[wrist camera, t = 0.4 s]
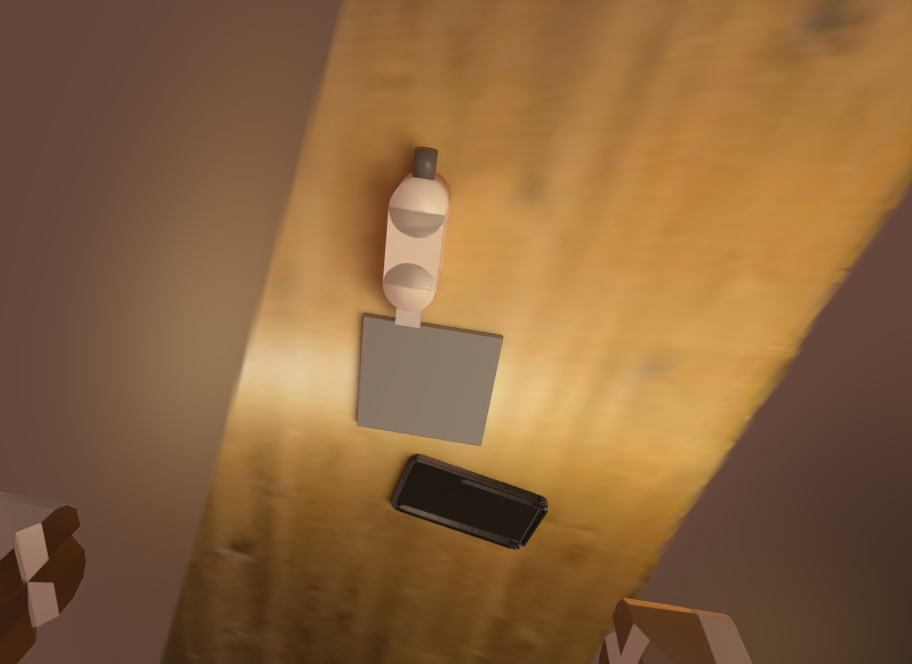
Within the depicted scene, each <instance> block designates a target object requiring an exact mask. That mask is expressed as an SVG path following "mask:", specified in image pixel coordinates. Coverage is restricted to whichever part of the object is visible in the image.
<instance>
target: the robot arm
mask: <svg viewBox="0 0 912 664" xmlns="http://www.w3.org/2000/svg"><path fill="white" fill-rule="evenodd" d="M80 526H81V525H80V520H79V516H78V511H77V508H74V507H71V506H69V505H65V504H60V503H55V502H50V501H44V500H40V499H35V498H29V497H25V496H20V495H15V494H9V493H1V492H0V664H18V663H19V662H20V661H21V659H22V658H23V657H24V656H25V655H26V654H27V652H28V651H29V650H30V649H31V648H32V646H34V644H35V642H36V632H37V627H38V626H40V625H42V624H44V623H46V622H48V621H50V620H51V619H53V618H55V617H57V616H59V615H60V614H61V613H62V611H63V610H64V609H65V608H66V606H67V605H68V604H69V603H70V602H71V600H72V599H73V598H74V596H75V594H76V592H77V590H78V588H79V586H80V584H81V582H82V580H83V578H84V572H85V566H86V557H85V549H84V548H83V547H82V546H81V544H79V542H78V541H77V540H76V539H75V538H74V537H73V534H74V533H75V532H76V531H77V530H78V528H79V527H80ZM613 621H614V626H615V631H614V632H613V633H611V634H610V635H608V636H607V637H605V639H604V642H603V645H602V649H601V652H600V658H599V664H752V663H751V660H750V658H749V656H748V654H747V651H746V649H745V647H744V645H743V643H742V640H741V638H740V636H739V634H738V631H737V629H736V627H735V624H734V622H733V621H732V620H731V619H730V618H729V617H728V616H727V615H726V614H720V613H714V612H707V611H701V610H695V609H690V610H689V609H688V608H683V607H676V606H670V605H664V604H657V603H651V602H645V601H639V600H632V599H626V598H622V599H621V600H620V601H619V602H618V603H617V605H616V608H615V611H614V613H613Z"/></svg>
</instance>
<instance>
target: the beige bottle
mask: <svg viewBox="0 0 912 664" xmlns="http://www.w3.org/2000/svg"><path fill="white" fill-rule="evenodd" d="M437 155H438V151H437V150H436V149H433V148H428V147H416V148H415V155H414V166H413V171H412V172H410V173H409V174H407V175H406V176H405V177H404V179H403V180H402V182H401V183H400V184H399V186H398V187H397V189H396V190H395V192H394V193H393V195H392V197H391V199H390V202H389V210H388V223H387V236H386V249H385V262H384V275H383V291H384V294H385V296H386V298H387V299H388V301H389V302H390V303H391V304H392V305H394V306H395V307H397V309H396V320H395V324H396V325H402V326H408V327H415V328H420V324H421V319H422V311H423V308H425V307H427V306H428V305H429V304H430V303H431V301H432V300H433V298H434V295H435V292H436V288H437V285H438V281H439V278H440V274H441V268H442V261H443V253H444V246H445V238H446V231H447V223H448V216H449V208H450V200H451V192H450V188H449V185H448V183H447V181H446V180H445V179H444V178H443V177H442V176H441V175H440V174H439V173H437V172H436V164H437Z"/></svg>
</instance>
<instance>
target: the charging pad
mask: <svg viewBox="0 0 912 664" xmlns="http://www.w3.org/2000/svg"><path fill="white" fill-rule="evenodd" d="M395 320H396V318H391V317H385V316H379V315H373V314H367V313H365V315H364V318H363V335H362V352H361V368H360V385H359V402H358V419H357V426H361V427H367V428H373V429H379V430H386V431H392V432H398V433H404V434H410V435H416V436H422V437H428V438H434V439H440V440H446V441H452V442H458V443H464V444H470V445H476V446H481V444H482V439H483V434H484V429H485V424H486V419H487V414H488V410H489V405H490V400H491V395H492V390H493V385H494V380H495V376H496V371H497V366H498V361H499V356H500V351H501V346H502V342H503V336H502V335H496V334H490V333H483V332H477V331H471V330H465V329H459V328H453V327H447V326H440V325H434V324H428V323H422V322H421V324H420V328H415V327H408V326H402V325H396V324H395Z"/></svg>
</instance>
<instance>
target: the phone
mask: <svg viewBox="0 0 912 664" xmlns="http://www.w3.org/2000/svg"><path fill="white" fill-rule="evenodd" d="M391 505H392V507H393V508H394V509H395V510H397V511H400V512H403V513H406V514H409V515H412V516H415V517H418V518H421V519H424V520H427V521H430V522H432V523H435V524H438V525H441V526H444V527H447V528H450V529H453V530H456V531H459V532H462V533H465V534H468V535H471V536H474V537H477V538H480V539H483V540H486V541H489V542H492V543H495V544H498V545H501V546H504V547H507V548H510V549H521V548H523V547H524V546H525V545H526V543H527V542H528V540H529V539H530V537H531V536H532V534H533V533H534V531H535V530H536V528H537V527H538V525H539V524H540V522H541V521H542V519H543V518H544V516H545V515H546V513H547V511H548V502H547V500H546V499H545V498H544V497H543V496H540V495H537V494H535V493H532V492H529V491H526V490H523V489H520V488H517V487H514V486H512V485H509V484H506V483H503V482H500V481H497V480H494V479H491V478H488V477H486V476H483V475H480V474H477V473H474V472H471V471H468V470H465V469H463V468H460V467H457V466H454V465H451V464H448V463H445V462H442V461H440V460H437V459H434V458H431V457H428V456H425V455H421V454H416V455H413V456H411V457H410V459H409V460H408V463H407V465H406V467H405V469H404V472H403V474H402V476H401V478H400V480H399V483H398V485H397V487H396V489H395V492H394V494H393V497H392V501H391Z"/></svg>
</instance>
